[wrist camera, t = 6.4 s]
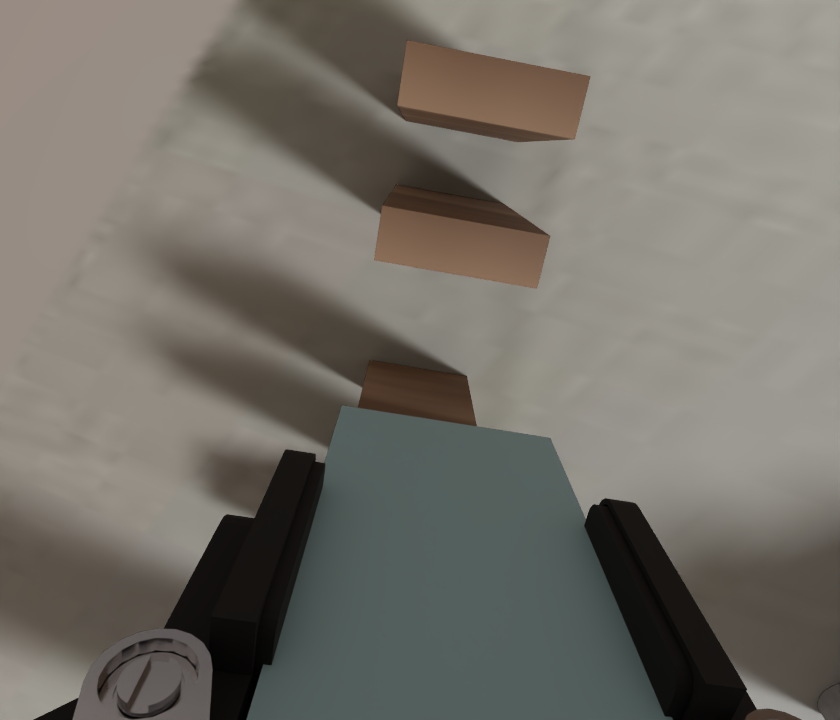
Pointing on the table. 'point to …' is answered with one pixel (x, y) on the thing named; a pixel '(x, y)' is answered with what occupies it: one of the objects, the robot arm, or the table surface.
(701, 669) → the robot arm
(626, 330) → the table surface
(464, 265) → the domino
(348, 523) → the domino
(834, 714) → the hip flask
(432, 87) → the domino
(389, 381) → the domino
